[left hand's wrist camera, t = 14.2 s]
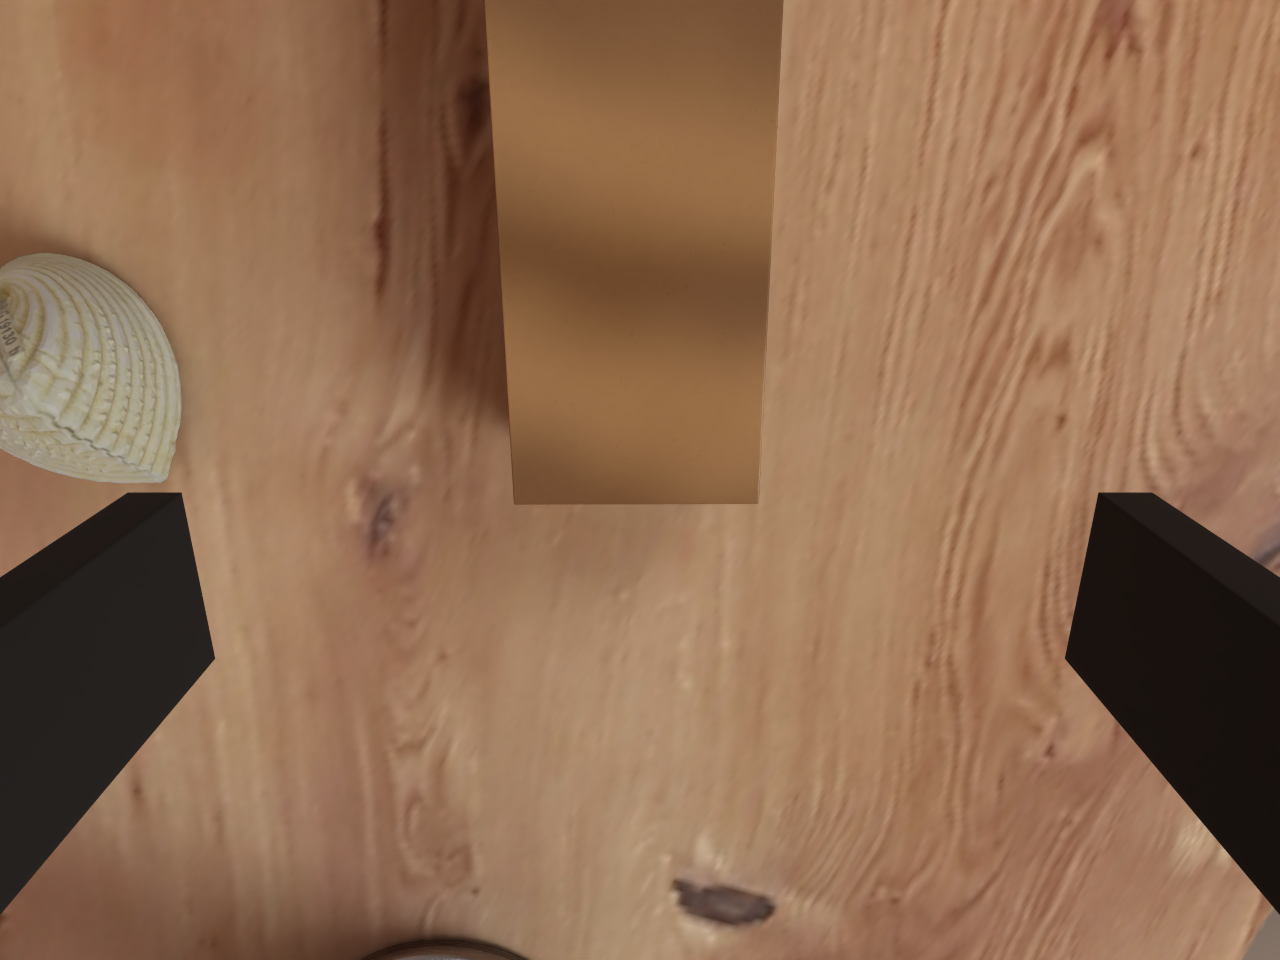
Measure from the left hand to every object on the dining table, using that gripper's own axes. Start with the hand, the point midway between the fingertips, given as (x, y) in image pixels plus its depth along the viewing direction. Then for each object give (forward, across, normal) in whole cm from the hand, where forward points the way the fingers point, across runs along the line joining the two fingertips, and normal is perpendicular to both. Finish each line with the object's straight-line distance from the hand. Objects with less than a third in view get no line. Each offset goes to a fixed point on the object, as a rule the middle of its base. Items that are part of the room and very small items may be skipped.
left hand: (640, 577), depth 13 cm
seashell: (+24, +23, +2) cm, 34 cm away
